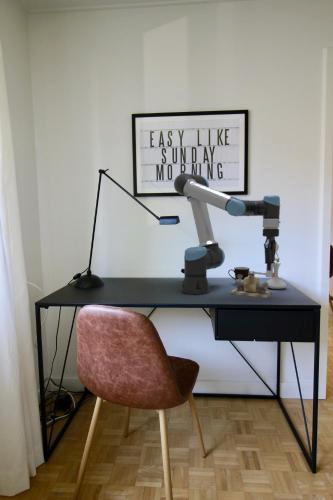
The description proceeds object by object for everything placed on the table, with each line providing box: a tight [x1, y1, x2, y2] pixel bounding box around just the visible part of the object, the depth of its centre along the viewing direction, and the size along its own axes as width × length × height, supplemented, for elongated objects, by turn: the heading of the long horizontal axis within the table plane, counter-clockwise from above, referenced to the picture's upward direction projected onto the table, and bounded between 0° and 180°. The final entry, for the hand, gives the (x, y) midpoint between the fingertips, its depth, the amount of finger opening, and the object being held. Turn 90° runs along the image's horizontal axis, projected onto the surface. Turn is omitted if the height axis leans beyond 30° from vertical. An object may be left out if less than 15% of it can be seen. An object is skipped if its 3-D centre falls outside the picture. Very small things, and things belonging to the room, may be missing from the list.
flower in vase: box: [266, 243, 287, 290], centre depth 177 cm, size 13×11×25 cm
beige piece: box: [230, 274, 273, 299], centre depth 166 cm, size 18×10×10 cm, turn 57°
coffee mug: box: [227, 266, 250, 281], centre depth 188 cm, size 12×9×10 cm
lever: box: [249, 270, 275, 277], centre depth 162 cm, size 14×3×2 cm, turn 48°
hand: (269, 276), depth 158 cm, fingers closed
